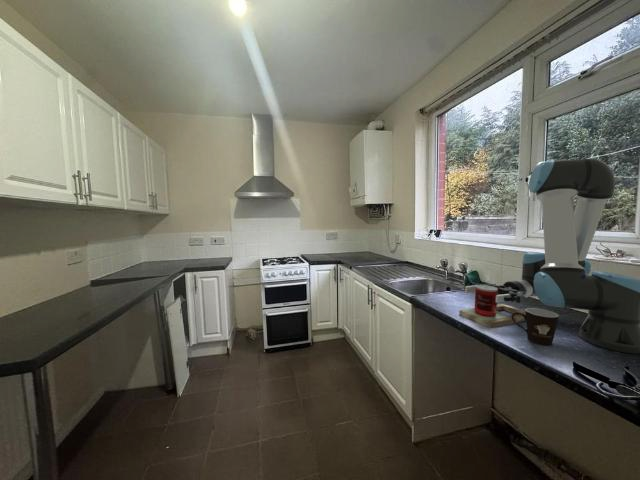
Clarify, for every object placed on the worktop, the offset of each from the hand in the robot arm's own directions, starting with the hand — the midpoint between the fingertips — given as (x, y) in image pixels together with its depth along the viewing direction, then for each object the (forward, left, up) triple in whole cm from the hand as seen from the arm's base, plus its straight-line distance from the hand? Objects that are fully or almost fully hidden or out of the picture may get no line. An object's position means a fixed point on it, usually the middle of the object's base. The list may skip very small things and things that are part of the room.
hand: (480, 294), depth 106 cm
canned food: (0, -3, -9) cm, 9 cm away
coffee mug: (-19, -2, -11) cm, 22 cm away
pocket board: (0, -10, -11) cm, 15 cm away
